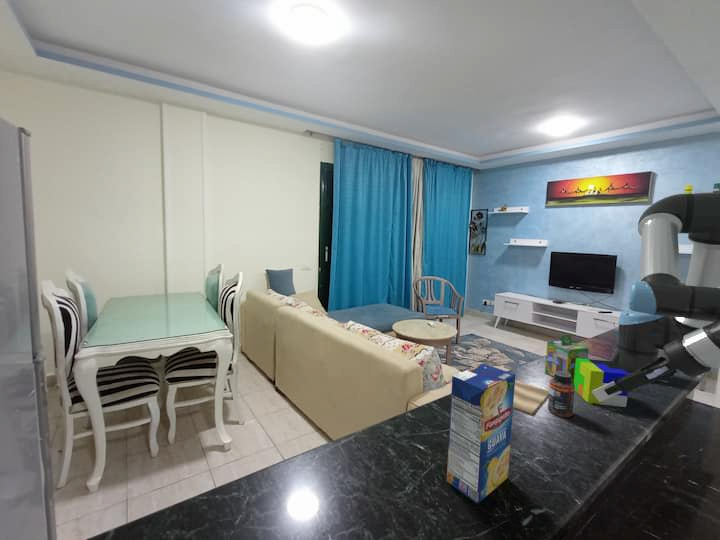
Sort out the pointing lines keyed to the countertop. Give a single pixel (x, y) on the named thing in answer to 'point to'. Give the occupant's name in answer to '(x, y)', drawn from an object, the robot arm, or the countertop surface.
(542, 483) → the countertop surface
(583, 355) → the chalk box
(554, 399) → the supplement bottle
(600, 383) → the puzzle toy
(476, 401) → the beverage box
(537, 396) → the wooden board
